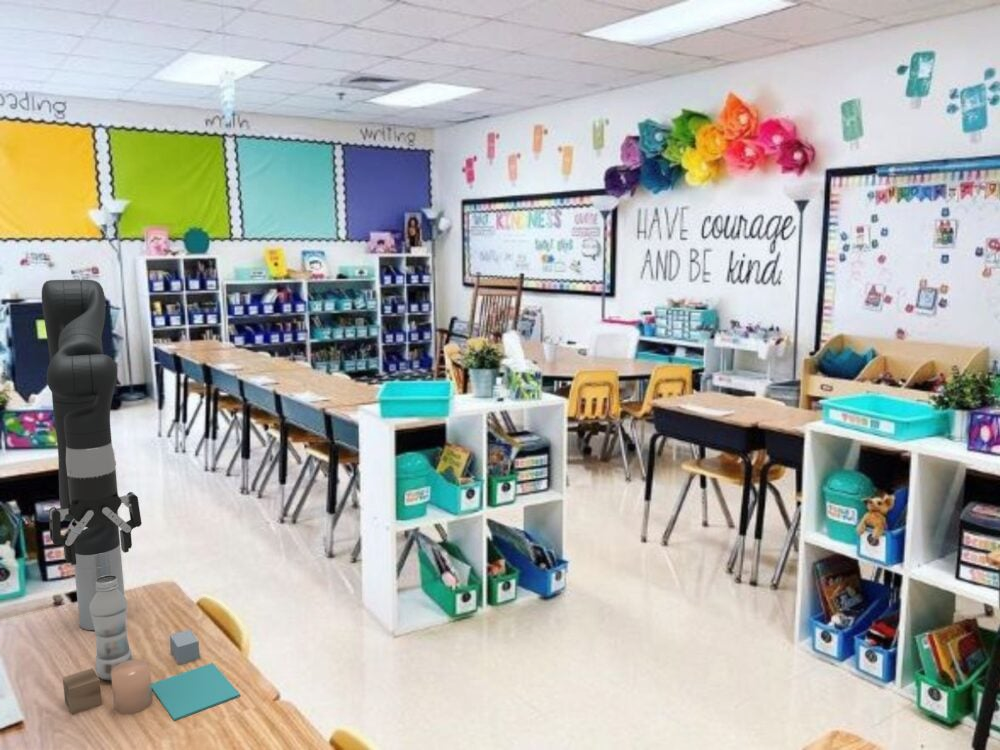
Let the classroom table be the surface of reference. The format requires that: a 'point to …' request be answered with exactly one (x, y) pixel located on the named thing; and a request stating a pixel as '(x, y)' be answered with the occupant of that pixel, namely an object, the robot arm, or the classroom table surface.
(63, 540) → the robot arm
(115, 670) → the beige domed cylinder
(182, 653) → the slate grey box
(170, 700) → the teal mat
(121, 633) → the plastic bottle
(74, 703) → the walnut block
